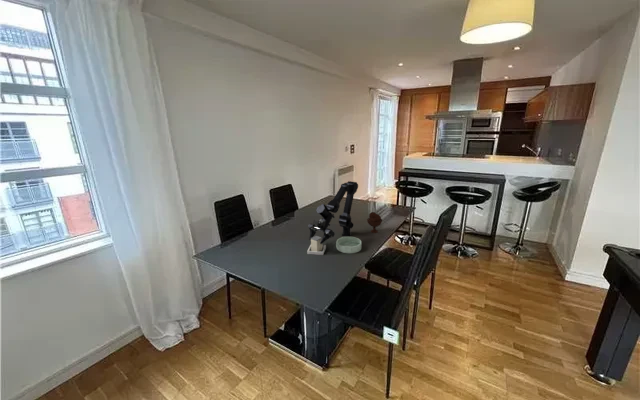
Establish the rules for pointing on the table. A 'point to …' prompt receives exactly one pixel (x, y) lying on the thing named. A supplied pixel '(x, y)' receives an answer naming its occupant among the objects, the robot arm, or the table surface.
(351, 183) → the robot arm
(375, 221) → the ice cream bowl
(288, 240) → the table surface
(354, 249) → the serving bowl
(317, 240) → the cream grey rectangular block
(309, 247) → the square frame
